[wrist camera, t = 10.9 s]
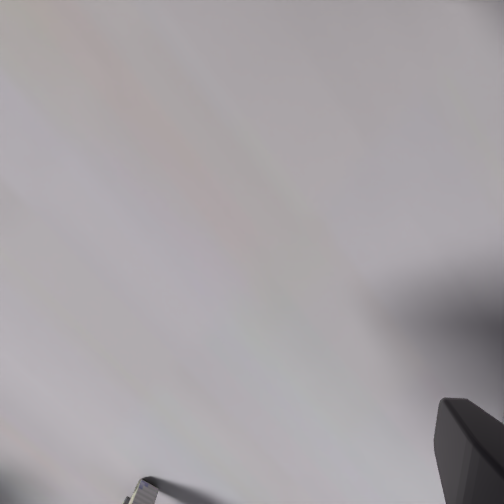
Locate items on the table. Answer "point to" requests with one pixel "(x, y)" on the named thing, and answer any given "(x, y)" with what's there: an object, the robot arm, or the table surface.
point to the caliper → (143, 494)
